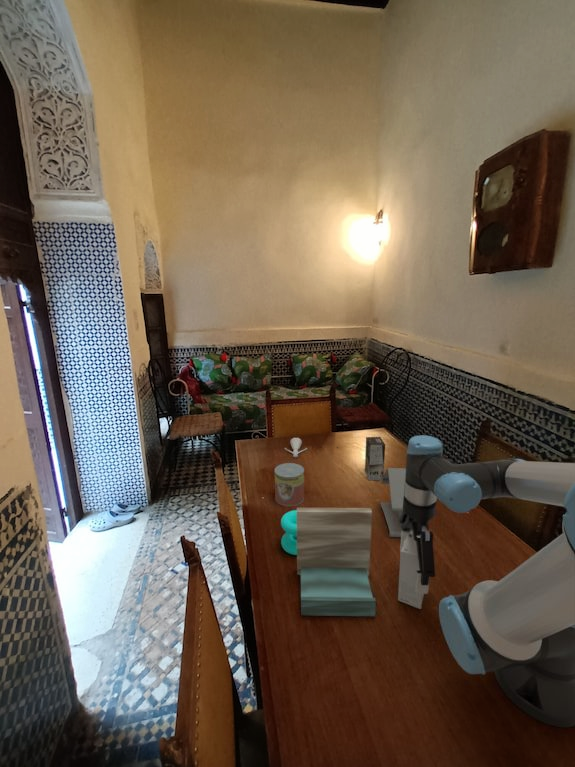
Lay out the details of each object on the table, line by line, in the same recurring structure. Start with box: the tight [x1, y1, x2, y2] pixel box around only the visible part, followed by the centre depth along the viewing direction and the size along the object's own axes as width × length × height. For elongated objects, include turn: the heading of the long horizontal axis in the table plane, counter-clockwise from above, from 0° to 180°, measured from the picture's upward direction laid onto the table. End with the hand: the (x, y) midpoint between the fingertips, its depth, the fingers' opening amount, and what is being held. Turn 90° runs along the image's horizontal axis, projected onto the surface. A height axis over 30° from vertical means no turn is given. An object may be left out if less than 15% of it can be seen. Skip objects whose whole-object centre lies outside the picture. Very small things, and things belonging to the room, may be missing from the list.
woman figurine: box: [284, 437, 308, 459], centre depth 180 cm, size 12×4×18 cm
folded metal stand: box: [379, 467, 420, 538], centre depth 121 cm, size 18×10×20 cm, turn 176°
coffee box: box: [364, 436, 386, 481], centre depth 153 cm, size 9×6×16 cm
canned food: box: [274, 462, 305, 507], centre depth 137 cm, size 11×11×12 cm
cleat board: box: [296, 507, 377, 617], centre depth 92 cm, size 15×20×20 cm
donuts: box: [280, 509, 297, 556], centre depth 111 cm, size 10×10×10 cm
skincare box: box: [397, 534, 425, 610], centre depth 92 cm, size 8×6×15 cm
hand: (412, 570), depth 92 cm, fingers open, 13 cm apart
